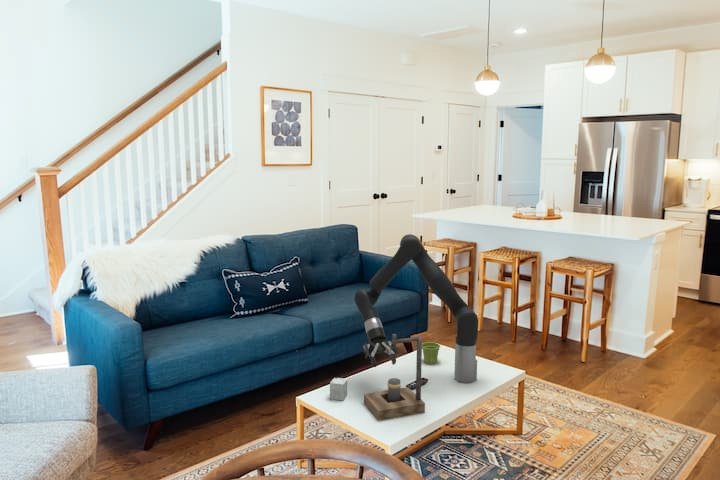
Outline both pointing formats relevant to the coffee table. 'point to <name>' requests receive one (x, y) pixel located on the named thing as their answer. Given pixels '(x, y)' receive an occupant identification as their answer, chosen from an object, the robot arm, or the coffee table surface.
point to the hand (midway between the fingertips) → (385, 365)
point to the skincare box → (338, 389)
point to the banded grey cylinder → (394, 390)
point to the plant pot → (430, 352)
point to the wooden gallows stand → (408, 398)
